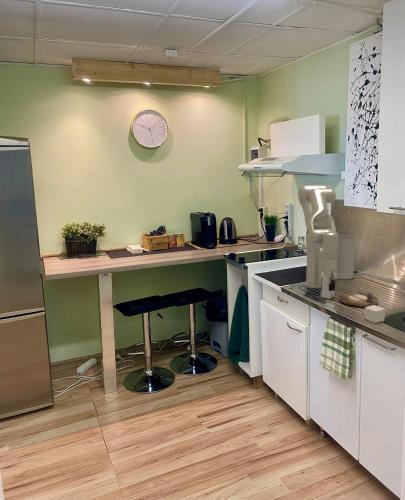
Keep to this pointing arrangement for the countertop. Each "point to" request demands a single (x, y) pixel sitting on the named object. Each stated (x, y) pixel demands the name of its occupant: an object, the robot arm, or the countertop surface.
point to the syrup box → (326, 287)
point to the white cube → (374, 313)
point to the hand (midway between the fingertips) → (327, 287)
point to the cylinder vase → (345, 257)
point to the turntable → (358, 298)
